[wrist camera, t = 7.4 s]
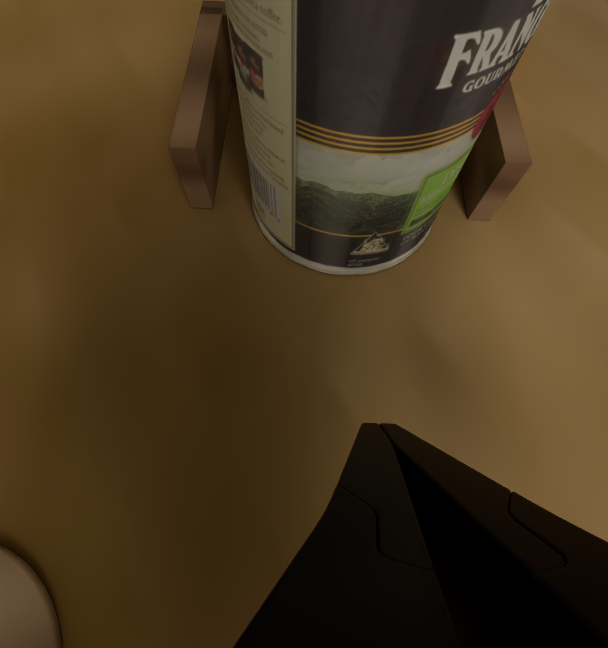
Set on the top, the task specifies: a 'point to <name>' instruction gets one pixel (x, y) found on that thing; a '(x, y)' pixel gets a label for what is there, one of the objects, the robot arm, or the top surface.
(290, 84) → the coffee can
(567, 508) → the top surface
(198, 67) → the walnut holder
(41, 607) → the cork mat
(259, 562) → the top surface
